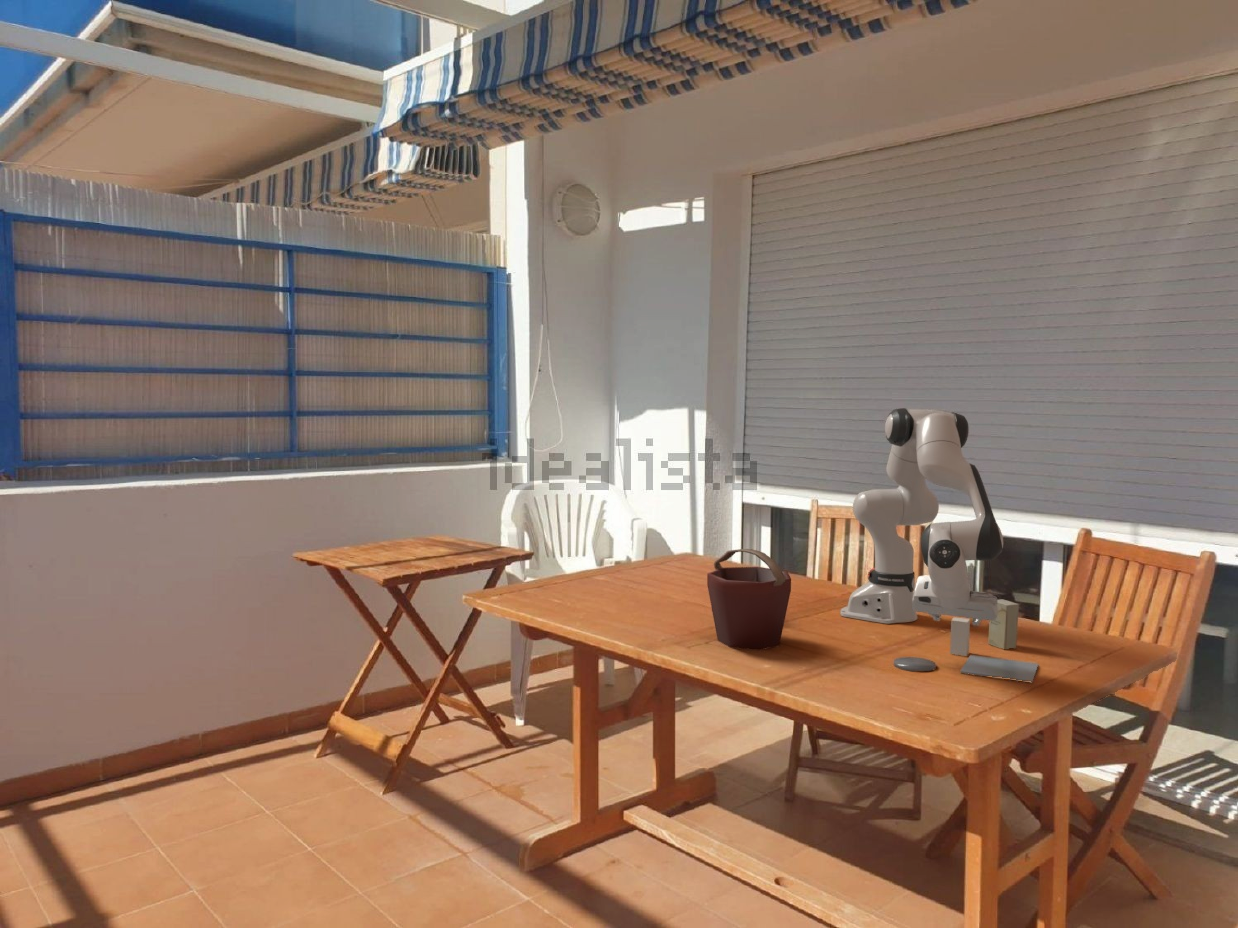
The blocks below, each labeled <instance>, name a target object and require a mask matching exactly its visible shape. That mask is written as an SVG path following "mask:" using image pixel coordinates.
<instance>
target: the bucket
mask: <svg viewBox="0 0 1238 928" xmlns="http://www.w3.org/2000/svg"><path fill="white" fill-rule="evenodd" d="M741 552H742V553H747V554H751V555H754V556H755V557H757V558H759V560H761V561H762V562H763V563H764V564H765V565H766V566H767V567H763V566H739V567H737V566H735V567H733V566H730V567H727V566H726V567H725V566H724V567H723V566H722V565H721V563H723V562H726V561H728V560H729V559H730V558H732V557H733V556H734V555H735V554H736V553H741ZM713 566H714V567H713V568H714V569H715V570H713V571H711V572H708V573H707V575H706V576H707V578H706V579H707V582H706V585H707V591H708V595H709V600H710V602H709V603H710V606H711V613H712V617H713V622H714V628H715V633H716V639H717V641H718V642H719V643H721V644H723V645H724V646H727V647H729V648H732V649H740V648H741V650H752V651H753V650H754V651H761V650H766V649H771V648H775V647H780V644H781V641H782V640H781V639H782V635H783V630H784V627H785V626H784V625H785V620H786V615H787V611H788V606H789V600H790V597H791V591H792V578H791V576H790V573H789V571H786V570H782V569H781V567H780V566H779V564H778V563H777V562H775V560H774V559H772V558H771V557H770V556H769V555H768V554H766V553H765V552H762V551H759V550H757V549H752V548H740V549H730V550H727V551H726V552H724V554H722V555H721V556H719V558H717V559H716V560H715V561H714V563H713ZM765 648H766V649H765Z"/></svg>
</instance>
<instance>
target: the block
mask: <svg viewBox="0 0 1238 928" xmlns="http://www.w3.org/2000/svg"><path fill="white" fill-rule="evenodd" d="M970 624H971V618H966V617H957V616H953V617H952V619H951V621H950V650H949V653H950V654H955V655H954V656H958V655H961V656H960V657H965V656H966V657H968V655H969V653H970V630H971V627H970V626H971V625H970ZM950 654H949V655H950ZM967 654H968V655H967Z"/></svg>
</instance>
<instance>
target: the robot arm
mask: <svg viewBox="0 0 1238 928" xmlns="http://www.w3.org/2000/svg"><path fill="white" fill-rule="evenodd" d="M884 431H885V438H886V440H887V442H888V443H889V444H891V447H890V448H891V449H890V452H889V454H888V455H889V456H888V460H887V462H886V469H885V470H886V474H887V476H888V478H889V480H891V481H892V482H893V483H895V484H896V485H898V487H897V488H879V489H878V488H875V489H869V490H866V491H860V492H859V493H858V494H857V495H856V496H855V498H854V500H853V502H852V511H853V512H852V513H853V515H854V517H855V519H856V520H857V521H858V522H859V523H860V524H861V525H862V526H863V527H864V528H865V529H866V530H867V532H868V533H869V534H870V536H871V539H872V541H873V547H874V559H875V560H874V564H875V565H874V567H872V568H871V569H870V570H869V571H868V572H867V579H868V580H867V581H866V582H865V583H863V584H862V585H860V587H857V589H855V590H854V591H853V592H852V593H850V596H849V598H848V603H847V605H846V606H844V607H842V608H841V609H840V616H841V617H843V618H844V617H845V618H850V619H855V620H856V619H857V620H863V621H868V622H874V623H881V624H889V625H890V624H897V623H910V622H914V621H917V620H918V614H917V613H923V614H924V613H925V614H928V615H929V616H931V617H932V619H933V621H936V622H940V621H941V617H942V615H943V616H951V617H956V618H965V619H972V621H971V622H972V626H978V627H979V626H980V622H982V621H983V620H985V621H990V620H995V619H996V618H997V613H998V606H997V603H998V602H997V600H998V598H997V596H995V595H993V594H992V593H990V592H985V591H974V590H971V585H970V578H969V577H968V576H969V574H968V573H969V572H968V566H967V561H987V562H989V561H990V562H991V561H993V560H994V559H996V558H997V557H998V556H999V555H1000V554H1001V553H1002V552H1003V548H1004V537H1003V533H1002V530H1001V528H1000V526H999V525H998V523H997V520H996V518H995V515H994V512H993V509H992V507H991V502H990V500H989V497H988V493H987V491H986V488H985V485H984V482H983V479H982V477H981V475H980V472H979V470H978V468H977V467H976V465H975V464H972V463H969V462H968V461H967V459H965V457H964V455H963V452H962V448H963V447H964V446H965V445H966V443H967V440H968V437H969V433H970V429H969V422H968V420H967V418H966V417H965V416H964V415H962V414H960V413H957V412H953V411H952V412H947V411H942V410H938V409H932V408H931V409H924V408H923V409H922V408H921V409H918V408H910V409H909V408H906V407H903V408H896V409H893V410H891V412H889V414H888V416H887V418H886V421H885V424H884ZM926 480H927V481H928V482H930V483H932V484H934V485H936V486H938V487H943V488H949V489H952V490H953V489H954V490H956V491H959V492H962V493H964V494H966V495H967V496H968V497H969V499H970V501H971V505H972V508H973V512H974V515H975V519H972V520H961V521H960V520H959V521H944V522H943V521H942V522H933V521H934V520H935V519H937V516H938V514H939V510H940V509H939V508H940V506H939V501H938V498H937V496H936V495H935V494H934V492H932V491H930V489H929V488H928V486H927V483H926ZM929 523H930V524H929ZM925 524H928V525H927V526H926V527H925V528H924V530H923V531H922V533H921V535H920V536H921V537H920V549H921V555H922V559H923V560H922V561H923V563H924V565H926V567H927V569H928V574H927V575H919V576H918V577H917V578H916V577H915V576H916V575H915V572H914V559H915V558H914V553H915V550H914V546H913V545H912V543H911V542H910V541H909V540H907V539H906V538H903V537H901V536H900V535H899V534H898V531H897V526H919V525H925Z"/></svg>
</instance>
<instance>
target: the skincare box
mask: <svg viewBox="0 0 1238 928" xmlns="http://www.w3.org/2000/svg"><path fill="white" fill-rule="evenodd" d="M997 602H998V603H997V606H998V613H997V618H996V619H995V620H988V621H989V625H988V639H987V643H988V645H991V646H993V647H995V648H999V649H1001V648H1003V649H1002V650H1004V649H1005V650H1010V649H1009V648H1014V649H1017V642H1018V641H1017V640H1018V639H1017V638H1018V627H1019V626H1018V625H1019V609H1020V604H1019V603H1016V602H1013V601H1010V600H1006V599H1001V598H999V599H997Z"/></svg>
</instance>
